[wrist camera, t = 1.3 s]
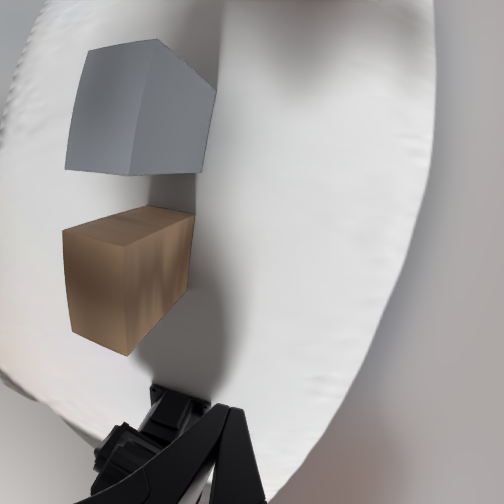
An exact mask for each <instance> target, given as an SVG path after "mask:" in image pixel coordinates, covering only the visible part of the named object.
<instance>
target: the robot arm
mask: <svg viewBox="0 0 504 504" xmlns="http://www.w3.org/2000/svg"><path fill="white" fill-rule="evenodd" d="M150 398H151V409H150V410H149V412H148V414H147V415H146V417H145V419H144V420H143V422H142V423H141V425H140V427H139V428H138V430H136V429H134V428H132V427H131V426H129V424H127V423H126V422H124V423H123V424H122V425H121V426H118V425H115V426H114V428H113V429H112V431H111V432H110V434H109V435H108V436H107V437H106V438H105V439H104V440H103V441H102V443H101V444H100V445H99V446H98V447H97V448H96V449H95V450H94V455H95V458H96V460H95V465H94V468H93V470H95V471H96V472H98V473H99V474H98V476H97V478H96V480H95V481H94V483H93V485H92V487H91V497H89V498H86V499H84V500H82V501H79V502H77V503H74V504H198V503H199V501H200V498H201V495H202V490H203V487H204V485H205V483H206V481H207V479H208V477H209V475H210V473H211V471H212V469H213V467H214V472H213V479H212V486H211V493H210V500H209V504H267V501H265V499H266V498H265V494H264V490H263V487H262V483H261V479H260V475H259V471H258V467H257V463H256V459H255V455H254V451H253V447H252V443H251V439H250V434H249V430H248V426H247V421H246V417H245V413H244V410H243V409H240V408H236V407H231V408H230V407H229V406H228V405H224V404H220V403H217V404H216V405H214V406H213V407H212V408H211V404H210V403H209V402H207V401H204V400H200V399H197V398H194V397H190V396H187V395H184V394H181V393H178V392H175V391H172V390H169V389H166V388H164V387H161V386H158V385H155V384H152V385H151V386H150ZM210 408H211V409H210ZM214 464H215V466H214Z"/></svg>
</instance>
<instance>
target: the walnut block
mask: <svg viewBox="0 0 504 504" xmlns="http://www.w3.org/2000/svg"><path fill="white" fill-rule="evenodd" d="M194 220H195V214H189V213H184V212H179V211H174V210H168V209H163V208H157V207H152V206H143V207H140V208H136V209H132V210H129V211H125V212H121V213H118V214H114V215H111V216H107V217H104V218H100V219H97V220H94V221H90V222H87V223H84V224H81V225H78V226H74V227H71V228H68V229H65V230H62V236H63V260H64V274H65V285H66V294H67V302H68V309H69V316H70V322H71V328H72V332H74V333H76V334H78V335H80V336H82V337H84V338H86V339H88V340H90V341H93V342H95V343H97V344H99V345H101V346H103V347H106V348H108V349H110V350H112V351H115V352H117V353H119V354H122V355H124V356H127V357H128V355H129V354H130V353H131V352H132V351H133V350H134V349H135V348H136V346H137V345H138V344H139V343H140V342H141V341H142V340H143V338H144V337H145V336H146V335H147V334H148V333H149V332H150V331H151V329H152V328H153V327H154V326H155V325H156V324H157V323H158V322H159V321H160V319H161V318H162V317H163V316H164V315H165V314H166V313H167V312H168V311H169V309H170V308H171V307H172V306H173V305H174V304H175V303H176V302H177V301H178V299H179V298H180V297H181V296H182V295H183V294H184V293H185V292H186V291H187V281H188V271H189V261H190V252H191V244H192V235H193V227H194Z"/></svg>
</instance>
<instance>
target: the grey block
mask: <svg viewBox="0 0 504 504" xmlns="http://www.w3.org/2000/svg"><path fill="white" fill-rule="evenodd" d="M215 96H216V90H215V89H214V88H213V87H212V86H211V85H210V84H209V83H208V82H207V81H206V80H204V79H203V78H202V77H201V76H200V75H199V74H198V73H197V72H196V71H195V70H193V69H192V68H191V67H190V66H189V65H188V64H187V63H186V62H184V61H183V60H182V59H181V58H180V57H179V56H177V55H176V54H175V53H174V52H173V51H172V50H170V49H169V48H168V47H167V46H166V45H164V44H163V43H162V42H161V41H159V40H158V39H152V40H144V41H137V42H130V43H124V44H118V45H113V46H108V47H103V48H99V49H95V50H90V51H88V54H87V57H86V60H85V64H84V67H83V71H82V74H81V78H80V82H79V86H78V90H77V94H76V99H75V104H74V108H73V113H72V119H71V125H70V131H69V137H68V144H67V152H66V161H65V170H75V171H86V172H97V173H106V174H115V175H124V176H137V175H153V174H174V173H201V172H202V165H203V159H204V153H205V148H206V142H207V137H208V131H209V126H210V121H211V115H212V110H213V105H214V101H215Z"/></svg>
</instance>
